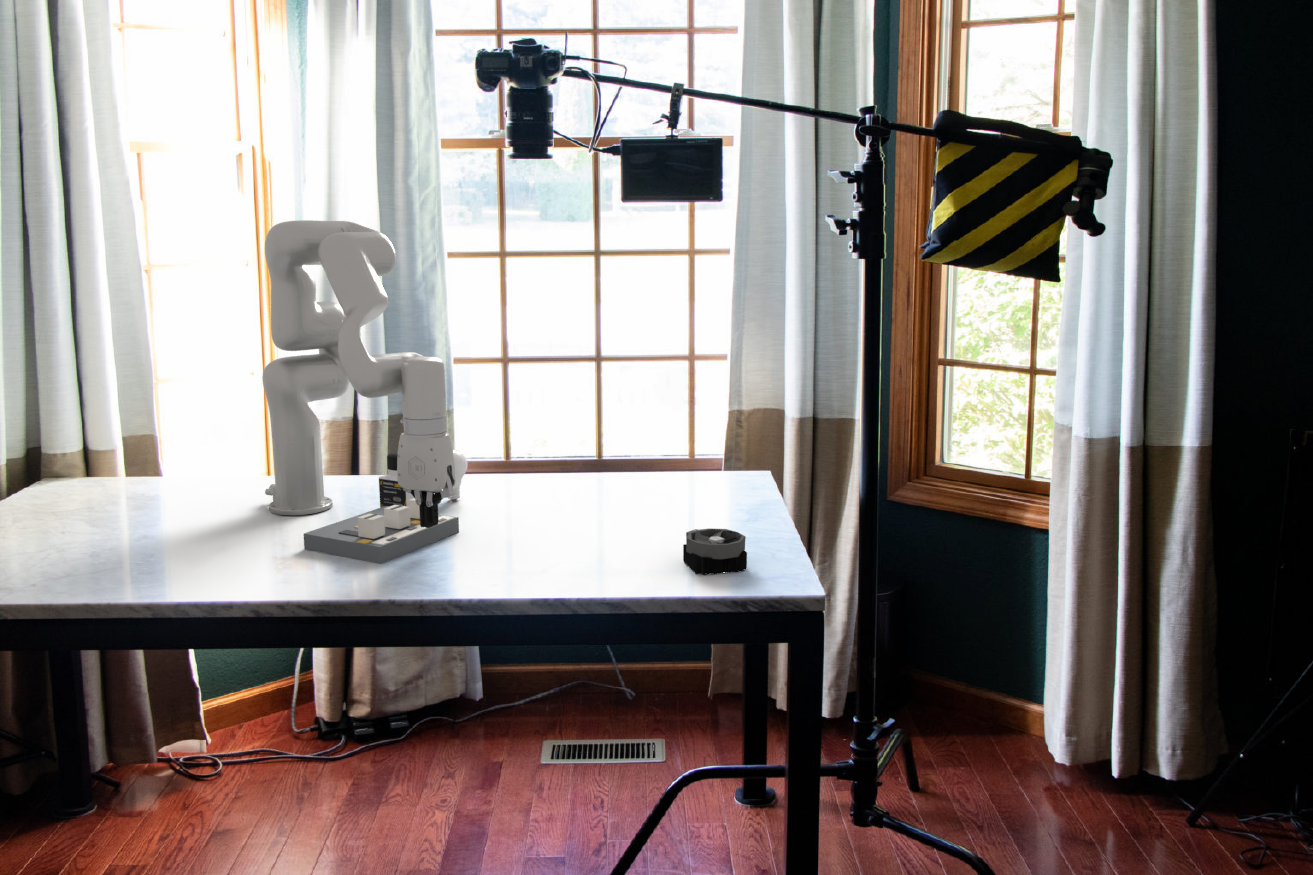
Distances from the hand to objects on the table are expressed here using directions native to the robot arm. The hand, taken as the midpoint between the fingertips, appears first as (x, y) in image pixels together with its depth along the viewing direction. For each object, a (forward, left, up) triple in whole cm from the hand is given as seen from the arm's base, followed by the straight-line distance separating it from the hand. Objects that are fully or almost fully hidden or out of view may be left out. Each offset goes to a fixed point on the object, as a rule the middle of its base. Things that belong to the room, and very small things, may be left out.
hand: (429, 525), depth 196 cm
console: (-11, 0, -4) cm, 12 cm away
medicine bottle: (-23, +20, -5) cm, 31 cm away
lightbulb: (-18, +30, -5) cm, 35 cm away
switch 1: (-7, -7, -1) cm, 10 cm away
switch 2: (-8, 0, -1) cm, 8 cm away
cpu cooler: (+50, +15, -5) cm, 52 cm away
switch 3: (-8, +7, -1) cm, 10 cm away
